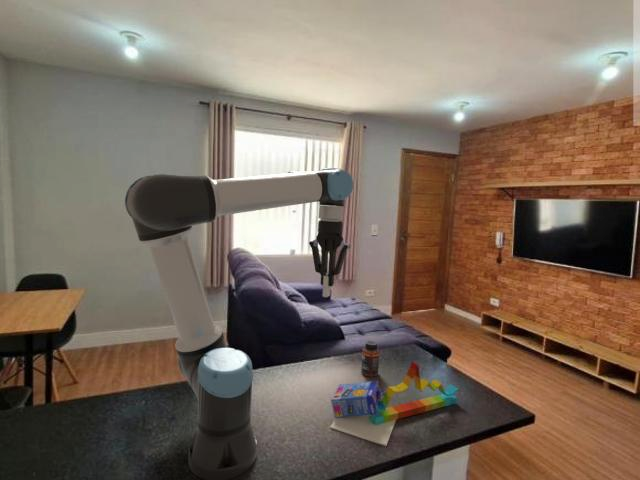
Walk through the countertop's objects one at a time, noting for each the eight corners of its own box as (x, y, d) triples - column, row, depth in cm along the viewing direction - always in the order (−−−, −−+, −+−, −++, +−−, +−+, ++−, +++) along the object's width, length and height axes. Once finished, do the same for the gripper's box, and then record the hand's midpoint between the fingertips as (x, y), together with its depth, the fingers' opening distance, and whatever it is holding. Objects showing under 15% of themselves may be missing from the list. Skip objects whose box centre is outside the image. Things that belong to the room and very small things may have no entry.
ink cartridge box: (338, 382, 106) (385, 379, 102) (342, 400, 106) (389, 397, 102) (330, 399, 96) (382, 395, 92) (334, 418, 96) (386, 416, 92)
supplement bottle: (380, 372, 125) (382, 342, 124) (374, 379, 120) (376, 347, 119) (365, 367, 128) (367, 338, 127) (358, 374, 123) (360, 343, 122)
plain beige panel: (330, 427, 92) (330, 426, 92) (349, 398, 107) (349, 397, 107) (386, 446, 87) (386, 444, 87) (398, 412, 101) (398, 411, 101)
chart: (448, 397, 111) (454, 352, 109) (456, 403, 108) (463, 357, 106) (368, 417, 97) (374, 366, 95) (375, 425, 94) (381, 372, 92)
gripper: (354, 221, 107) (350, 296, 110) (316, 218, 112) (312, 290, 115) (346, 222, 101) (341, 302, 103) (306, 219, 106) (302, 295, 108)
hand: (326, 295), depth 109 cm, fingers closed
